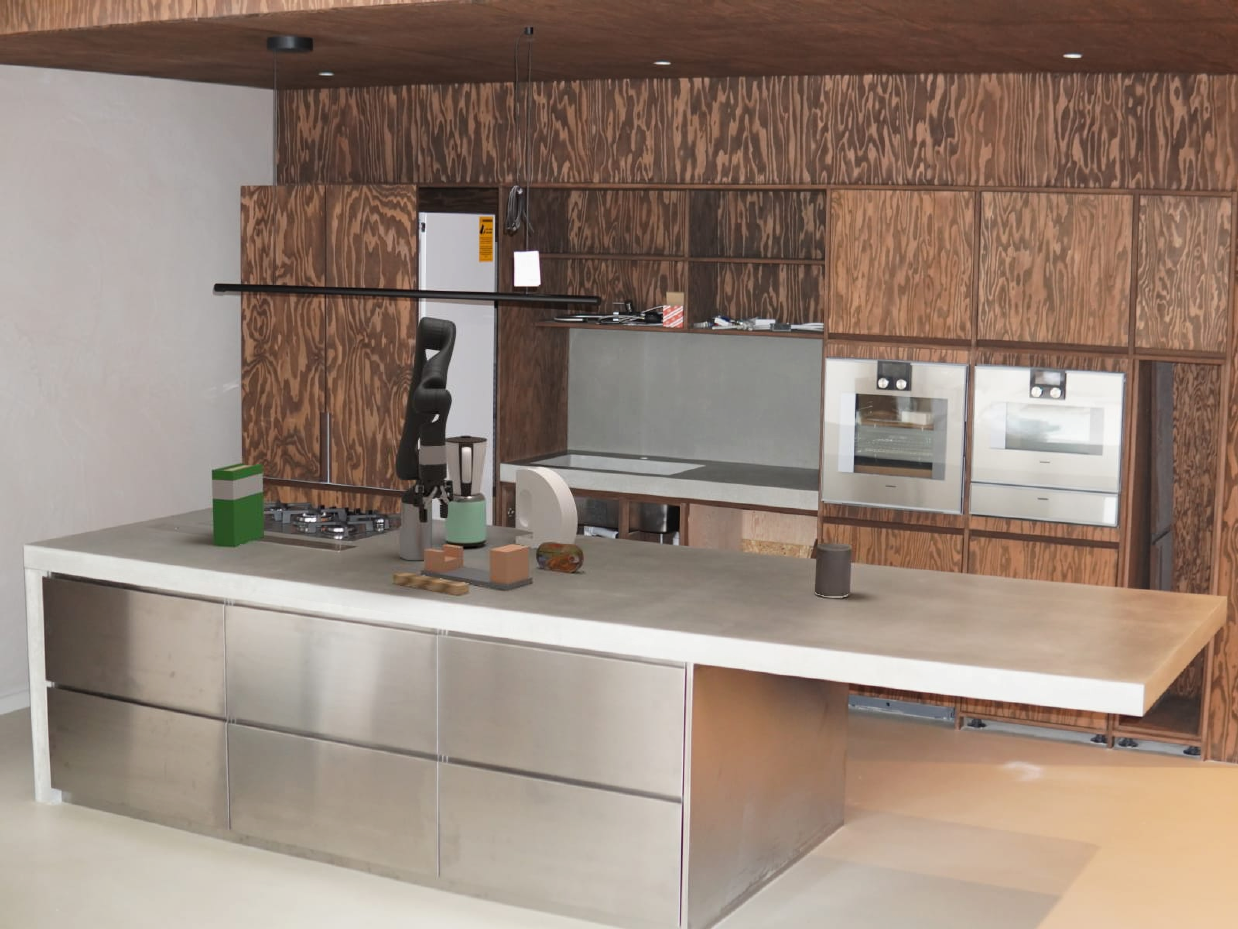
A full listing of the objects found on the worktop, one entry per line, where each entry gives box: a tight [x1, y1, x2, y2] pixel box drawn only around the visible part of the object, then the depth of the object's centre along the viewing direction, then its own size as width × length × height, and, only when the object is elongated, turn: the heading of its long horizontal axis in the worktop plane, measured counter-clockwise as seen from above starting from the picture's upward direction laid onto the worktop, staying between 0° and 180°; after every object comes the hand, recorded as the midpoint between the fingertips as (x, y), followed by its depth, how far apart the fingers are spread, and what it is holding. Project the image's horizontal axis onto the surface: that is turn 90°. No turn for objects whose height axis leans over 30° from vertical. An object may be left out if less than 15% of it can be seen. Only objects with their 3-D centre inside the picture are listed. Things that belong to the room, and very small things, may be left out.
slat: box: [392, 571, 470, 597], centre depth 388 cm, size 24×4×3 cm, turn 56°
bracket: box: [515, 466, 578, 549], centre depth 444 cm, size 7×21×25 cm, turn 48°
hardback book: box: [211, 462, 265, 548], centre depth 448 cm, size 18×7×24 cm, turn 164°
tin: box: [535, 542, 585, 574], centre depth 413 cm, size 15×3×8 cm, turn 62°
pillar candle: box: [814, 541, 853, 596], centre depth 386 cm, size 10×10×15 cm
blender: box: [444, 435, 488, 549], centre depth 444 cm, size 19×13×35 cm
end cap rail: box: [420, 543, 533, 591], centre depth 399 cm, size 31×12×10 cm, turn 56°
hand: (433, 520), depth 387 cm, fingers open, 8 cm apart
